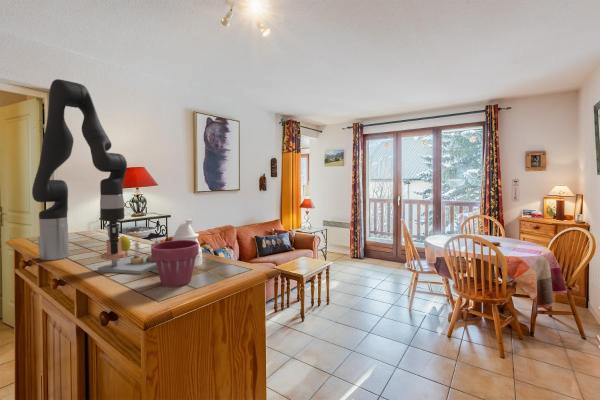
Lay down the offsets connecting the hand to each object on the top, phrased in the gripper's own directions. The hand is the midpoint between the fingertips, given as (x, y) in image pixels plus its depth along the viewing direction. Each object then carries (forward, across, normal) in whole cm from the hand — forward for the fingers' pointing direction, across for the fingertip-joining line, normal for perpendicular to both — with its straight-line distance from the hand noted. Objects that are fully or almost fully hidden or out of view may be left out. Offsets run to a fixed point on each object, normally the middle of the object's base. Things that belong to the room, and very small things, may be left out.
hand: (114, 251), depth 112 cm
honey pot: (+7, -8, -24) cm, 26 cm away
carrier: (+7, 0, -8) cm, 10 cm away
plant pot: (+7, -28, -16) cm, 33 cm away
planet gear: (+2, 0, 0) cm, 2 cm away
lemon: (+7, +26, -5) cm, 27 cm away
